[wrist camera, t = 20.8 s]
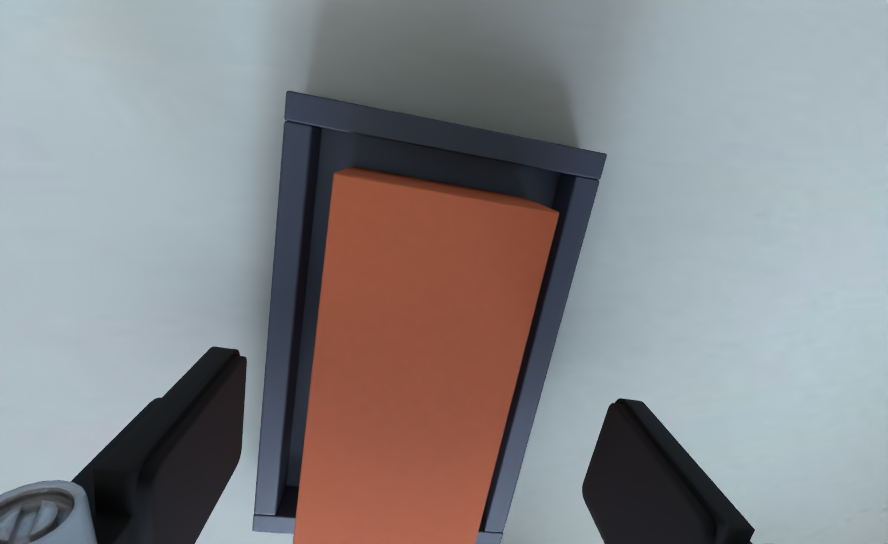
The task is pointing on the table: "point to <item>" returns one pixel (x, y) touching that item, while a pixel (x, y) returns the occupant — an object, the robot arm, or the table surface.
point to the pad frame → (303, 249)
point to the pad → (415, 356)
